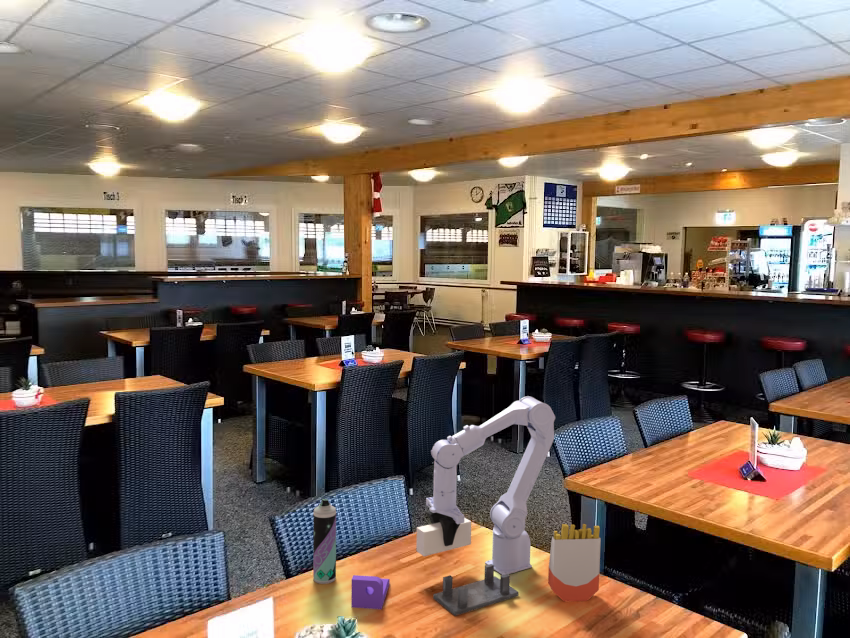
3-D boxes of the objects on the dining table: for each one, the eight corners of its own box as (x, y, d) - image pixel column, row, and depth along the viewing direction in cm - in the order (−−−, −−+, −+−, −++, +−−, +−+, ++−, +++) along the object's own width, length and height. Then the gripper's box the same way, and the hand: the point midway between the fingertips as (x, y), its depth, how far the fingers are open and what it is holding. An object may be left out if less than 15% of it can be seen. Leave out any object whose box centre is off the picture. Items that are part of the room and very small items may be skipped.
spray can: (309, 581, 163) (309, 501, 161) (320, 571, 168) (320, 494, 166) (328, 585, 161) (328, 504, 159) (339, 575, 166) (340, 497, 164)
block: (463, 539, 173) (463, 516, 172) (470, 544, 170) (471, 521, 169) (416, 551, 165) (416, 527, 165) (423, 556, 162) (424, 532, 162)
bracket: (381, 610, 150) (381, 581, 150) (351, 608, 151) (351, 579, 150) (389, 585, 162) (389, 557, 162) (361, 583, 163) (361, 556, 162)
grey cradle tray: (495, 580, 165) (495, 560, 164) (518, 595, 157) (519, 575, 157) (433, 598, 155) (433, 577, 155) (454, 616, 148) (455, 594, 147)
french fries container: (547, 592, 159) (549, 518, 158) (591, 590, 160) (594, 517, 159) (552, 602, 155) (555, 526, 153) (598, 600, 156) (601, 525, 154)
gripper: (416, 483, 170) (415, 534, 172) (447, 500, 158) (446, 556, 159) (439, 478, 174) (438, 529, 175) (471, 495, 162) (470, 550, 163)
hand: (444, 542), depth 168 cm, fingers closed on block, 3 cm apart
